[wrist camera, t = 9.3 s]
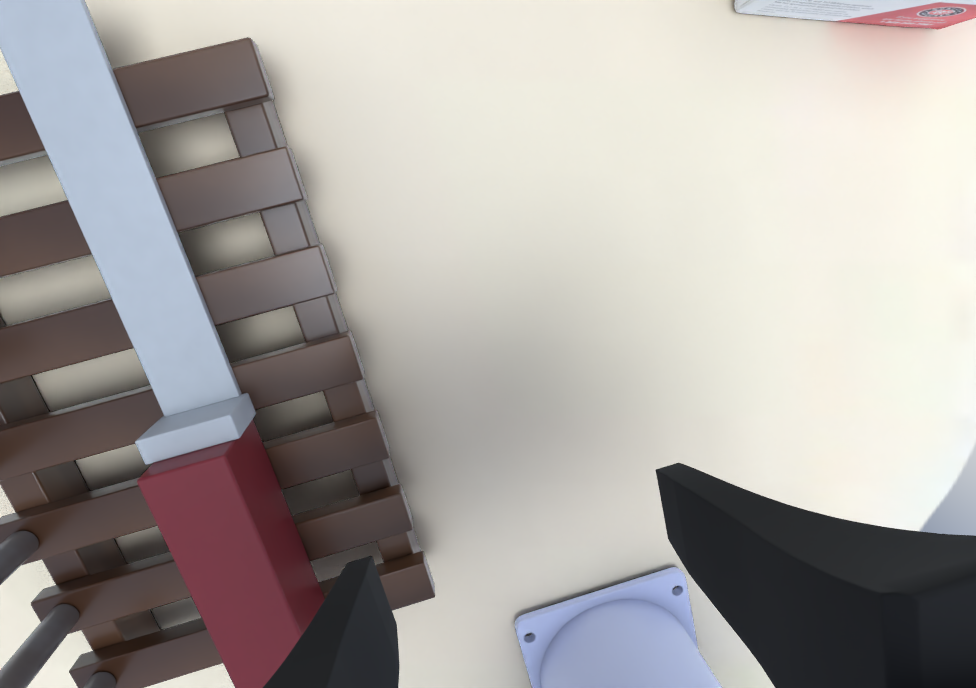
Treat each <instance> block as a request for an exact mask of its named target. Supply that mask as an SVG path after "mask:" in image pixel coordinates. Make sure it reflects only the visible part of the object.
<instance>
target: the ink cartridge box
mask: <svg viewBox="0 0 976 688" xmlns="http://www.w3.org/2000/svg"><path fill="white" fill-rule="evenodd" d="M734 7H735V11H736V12H739V13H745V14H757V15H768V16H779V17H791V18H802V19H813V20H826V21H840V22H851V23H865V24H877V25H887V26H900V27H918V28H932V29H942V28H945V27H948V26H951V25H954V24H957V23H960V22H963V21H967V20H970V19H973V18H976V0H735V4H734Z"/></svg>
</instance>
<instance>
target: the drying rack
mask: <svg viewBox="0 0 976 688" xmlns="http://www.w3.org/2000/svg"><path fill="white" fill-rule="evenodd" d="M112 70H113V72H114V75H115V77H116V80H117V82H118V85H119V87H120V90H121V92H122V95H123V98H124V100H125V103H126V105H127V108H128V110H129V113H130V115H131V118H132V120H133V123H134V125H135V128H136V130H137V133H140V132H144V131H148V130H153V129H157V128H161V127H165V126H169V125H173V124H177V123H182V122H186V121H190V120H194V119H198V118H202V117H206V116H210V115H215V114H219V113H223V112H224V114H225V117H226V119H227V122H228V125H229V128H230V131H231V134H232V136H233V139H234V142H235V145H236V148H237V150H238V153H239V156H240V158H236V159H232V160H227V161H223V162H219V163H215V164H211V165H207V166H203V167H199V168H195V169H191V170H187V171H183V172H179V173H175V174H171V175H167V176H163V177H159V178H156V180H157V183H158V185H159V188H160V190H161V193H162V195H163V198H164V200H165V203H166V205H167V208H168V210H169V213H170V215H171V218H172V220H173V223H174V225H175V228H176V230H177V233H179V232H183V231H187V230H191V229H195V228H199V227H203V226H207V225H211V224H215V223H219V222H222V221H226V220H230V219H234V218H238V217H242V216H246V215H250V214H254V213H258V212H259V213H260V215H261V218H262V221H263V224H264V227H265V229H266V232H267V235H268V238H269V241H270V244H271V246H272V249H273V252H274V255H275V256H271V257H267V258H263V259H259V260H256V261H252V262H248V263H244V264H240V265H236V266H233V267H229V268H225V269H221V270H217V271H213V272H210V273H206V274H202V275H198V276H195V278H196V280H197V283H198V285H199V288H200V290H201V293H202V295H203V298H204V300H205V303H206V305H207V308H208V310H209V313H210V315H211V318H212V320H213V323H214V325H215V326H217V325H221V324H225V323H228V322H232V321H236V320H240V319H243V318H247V317H251V316H254V315H258V314H262V313H266V312H269V311H273V310H277V309H281V308H284V307H288V306H293V308H294V311H295V314H296V317H297V320H298V322H299V325H300V328H301V331H302V334H303V337H304V339H305V343H302V344H298V345H294V346H291V347H287V348H284V349H280V350H276V351H273V352H269V353H265V354H262V355H258V356H254V357H251V358H247V359H243V360H240V361H236V362H232V363H230V365H231V368H232V370H233V373H234V375H235V378H236V380H237V383H238V385H239V388H240V390H241V394H244V393H248V394H249V397H250V399H251V402H252V404H253V407H254V409H255V410H257V409H260V408H264V407H267V406H271V405H274V404H278V403H282V402H285V401H289V400H292V399H296V398H299V397H303V396H306V395H310V394H314V393H317V392H321V391H323V393H324V396H325V399H326V401H327V404H328V407H329V410H330V413H331V416H332V418H333V421H334V422H332V423H329V424H325V425H322V426H318V427H315V428H311V429H308V430H304V431H301V432H297V433H294V434H290V435H287V436H283V437H280V438H276V439H273V440H269V441H266V442H262V443H263V445H264V448H265V450H266V453H267V455H268V458H269V460H270V463H271V465H272V468H273V471H274V473H275V476H276V478H277V481H278V483H279V486H280V488H281V489H285V488H288V487H292V486H295V485H299V484H302V483H306V482H309V481H312V480H316V479H319V478H323V477H326V476H330V475H333V474H336V473H340V472H343V471H347V470H350V469H351V472H352V475H353V478H354V480H355V483H356V486H357V489H358V492H359V494H360V496H357V497H353V498H350V499H346V500H343V501H340V502H336V503H333V504H330V505H326V506H323V507H319V508H316V509H313V510H309V511H306V512H302V513H299V514H296V515H292V518H293V521H294V523H295V526H296V528H297V531H298V533H299V536H300V538H301V541H302V543H303V546H304V548H305V551H306V553H307V556H308V558H309V561H312V560H315V559H318V558H322V557H325V556H328V555H332V554H335V553H338V552H342V551H345V550H348V549H352V548H355V547H358V546H362V545H365V544H368V543H372V542H375V541H376V542H377V545H378V548H379V551H380V554H381V557H382V559H383V562H384V563H380V564H377V565H375V566H376V569H377V571H378V574H379V577H380V580H381V582H382V585H383V588H384V591H385V593H386V596H387V599H388V602H389V605H390V607H391V610H395V609H398V608H402V607H405V606H408V605H411V604H415V603H418V602H421V601H424V600H427V599H431V598H434V597H435V586H434V581H433V578H432V575H431V572H430V569H429V566H428V563H427V560H426V557H425V554H424V551H421V549H420V546H419V543H418V540H417V537H416V534H415V530H414V527H413V518H412V515H411V512H410V508H409V505H408V502H407V499H406V496H405V493H404V490H403V487H402V485H401V484H399V482H398V479H397V476H396V473H395V470H394V467H393V464H392V461H391V458H390V455H389V453H390V447H389V444H388V441H387V438H386V435H385V432H384V429H383V426H382V423H381V420H380V417H379V414H378V411H377V410H375V409H374V406H373V403H372V400H371V397H370V394H369V391H368V388H367V385H366V382H365V379H364V373H365V371H364V368H363V365H362V362H361V359H360V356H359V353H358V350H357V347H356V344H355V341H354V338H353V335H352V332H351V331H349V330H348V327H347V324H346V321H345V318H344V315H343V312H342V309H341V306H340V303H339V300H338V297H337V294H336V291H337V286H336V283H335V280H334V277H333V274H332V271H331V268H330V264H329V261H328V258H327V255H326V252H325V249H324V246H323V244H321V243H320V242H319V239H318V236H317V233H316V230H315V227H314V224H313V221H312V218H311V215H310V212H309V209H308V206H307V203H306V200H307V195H306V192H305V189H304V185H303V182H302V179H301V176H300V173H299V170H298V167H297V164H296V161H295V158H294V155H293V152H292V150H291V148H288V145H287V142H286V139H285V136H284V133H283V130H282V127H281V124H280V121H279V118H278V115H277V112H276V109H275V106H274V103H273V100H274V94H273V91H272V88H271V85H270V82H269V79H268V76H267V73H266V70H265V67H264V64H263V61H262V58H261V55H260V52H259V49H258V46H257V44H256V43H255V42H254V41H253V40H252V39H251V38H248V37H247V38H243V39H239V40H235V41H230V42H226V43H222V44H217V45H213V46H209V47H205V48H200V49H196V50H192V51H188V52H183V53H179V54H175V55H170V56H166V57H162V58H158V59H153V60H149V61H145V62H140V63H136V64H132V65H128V66H123V67H119V68H115V69H112ZM45 155H48V154H47V152H46V150H45V147H44V145H43V143H42V141H41V139H40V136H39V134H38V132H37V130H36V127H35V125H34V123H33V121H32V118H31V116H30V114H29V112H28V109H27V107H26V105H25V103H24V101H23V98H22V96H21V94H20V92H19V91H16V92H12V93H8V94H3V95H0V166H4V165H8V164H12V163H16V162H20V161H25V160H29V159H33V158H37V157H41V156H45ZM90 255H92V253H91V250H90V248H89V246H88V244H87V241H86V239H85V237H84V235H83V233H82V230H81V228H80V226H79V224H78V221H77V219H76V217H75V215H74V212H73V210H72V208H71V206H70V203H69V201H68V200H66V201H62V202H58V203H54V204H50V205H46V206H42V207H38V208H34V209H30V210H26V211H22V212H18V213H14V214H10V215H6V216H2V217H0V278H3V277H7V276H11V275H15V274H19V273H23V272H27V271H31V270H35V269H39V268H43V267H46V266H50V265H54V264H58V263H62V262H66V261H70V260H74V259H78V258H82V257H86V256H90ZM132 348H134V347H133V344H132V342H131V340H130V338H129V335H128V333H127V331H126V329H125V327H124V324H123V322H122V320H121V318H120V315H119V313H118V311H117V309H116V306H115V304H114V302H113V300H112V298H110V299H106V300H103V301H99V302H95V303H91V304H87V305H83V306H80V307H76V308H72V309H68V310H64V311H61V312H57V313H53V314H49V315H45V316H41V317H38V318H34V319H30V320H26V321H22V322H19V323H15V324H11V325H7V326H5V324H4V322H3V320H2V318H1V316H0V485H1V487H2V489H3V490H4V492H5V494H6V496H7V498H8V499H9V501H10V503H11V505H12V507H13V508H14V510H15V512H16V513H13V514H9V515H6V516H2V517H1V518H0V585H1V584H2V583H3V582H4V581H5V580H6V579H7V578H8V577H9V576H10V575H11V574H12V573H13V572H14V571H15V570H17V569H18V568H19V567H20V566H21V565H24V564H27V563H31V562H34V561H38V560H41V559H42V560H43V562H44V564H45V566H46V567H47V569H48V571H49V573H50V575H51V576H52V578H53V580H54V582H55V584H56V585H55V586H51V587H48V588H45V589H43V590H42V591H41V592H40V593H39V594H38V595H37V596H36V598H35V599H34V600H33V601H32V602H31V606H32V608H33V609H34V611H35V613H36V614H37V616H38V618H39V620H40V621H41V623H40V624H39V625H38V627H37V628H36V629H35V630H34V631H33V632H32V634H31V635H30V636H29V637H28V638H27V639H26V641H25V642H24V643H23V644H22V645H21V646H20V648H19V649H18V650H17V651H16V652H15V653H14V655H13V656H12V657H11V658H10V659H9V661H8V662H7V663H6V664H5V665H4V666H3V668H2V669H1V670H0V688H27V686H28V685H29V684H30V682H31V681H32V680H33V678H34V677H35V676H36V675H37V673H38V672H39V671H40V669H41V668H42V667H43V666H44V664H45V663H46V662H47V660H48V659H49V658H50V656H51V655H52V654H53V653H54V651H55V650H56V649H57V647H58V646H59V645H60V643H61V642H62V641H63V640H64V638H65V637H66V636H67V634H69V633H73V632H76V631H79V630H82V632H83V634H84V636H85V637H86V639H87V641H88V643H89V645H90V646H91V648H92V650H93V651H91V652H88V653H85V654H82V655H80V656H79V658H78V659H77V661H76V662H75V664H74V665H73V666H72V668H71V669H70V671H69V673H70V674H71V676H72V678H73V680H74V681H75V683H76V685H77V686H78V688H144V687H147V686H151V685H154V684H157V683H160V682H163V681H167V680H170V679H173V678H176V677H180V676H183V675H186V674H189V673H192V672H196V671H199V670H202V669H205V668H208V667H212V666H215V665H218V664H221V663H223V661H222V659H221V657H220V655H219V653H218V651H217V649H216V647H215V644H214V642H213V640H212V638H211V636H210V634H209V632H208V630H207V628H206V626H205V624H204V622H203V619H202V618H200V619H196V620H193V621H190V622H186V623H183V624H180V625H177V626H173V627H170V628H167V629H163V630H160V629H159V627H158V625H157V623H156V621H155V619H154V617H153V615H152V613H151V611H150V609H152V608H156V607H159V606H162V605H166V604H169V603H172V602H176V601H179V600H182V599H186V598H189V597H192V596H191V594H190V592H189V590H188V588H187V586H186V584H185V582H184V580H183V578H182V576H181V574H180V571H179V569H178V567H177V565H176V563H175V561H174V559H173V557H172V555H171V553H170V552H167V553H163V554H160V555H157V556H153V557H150V558H146V559H143V560H140V561H136V562H133V563H129V564H126V562H125V560H124V558H123V556H122V554H121V552H120V550H119V548H118V546H117V544H116V542H115V540H114V538H117V537H120V536H124V535H127V534H130V533H134V532H137V531H141V530H144V529H148V528H151V527H154V526H157V523H156V521H155V519H154V517H153V515H152V513H151V511H150V509H149V507H148V505H147V503H146V501H145V498H144V496H143V494H142V492H141V490H140V488H139V486H138V484H137V480H138V478H136V479H132V480H129V481H125V482H122V483H118V484H115V485H111V486H107V487H104V488H100V489H97V490H93V491H89V489H88V487H87V485H86V483H85V481H84V479H83V477H82V475H81V473H80V471H79V470H78V468H77V466H76V464H75V462H74V461H75V460H78V459H82V458H85V457H89V456H92V455H96V454H100V453H103V452H107V451H110V450H114V449H117V448H121V447H125V446H128V445H132V444H135V441H136V440H137V439H138V438H139V437H140V436H142V435H143V434H144V433H145V432H146V431H147V430H148V429H149V428H150V427H151V426H153V425H154V424H155V423H156V422H157V421H158V420H159V419H160V418H161V417H163V416H164V414H163V412H162V409H161V407H160V405H159V403H158V400H157V398H156V396H155V394H154V391H153V389H152V387H151V385H148V386H145V387H141V388H137V389H134V390H130V391H126V392H123V393H119V394H115V395H112V396H108V397H104V398H101V399H97V400H93V401H90V402H86V403H82V404H79V405H75V406H72V407H68V408H64V409H61V410H57V411H53V412H50V413H49V411H48V409H47V407H46V405H45V403H44V401H43V399H42V397H41V395H40V393H39V391H38V389H37V387H36V385H35V383H34V381H33V379H32V377H31V375H35V374H38V373H42V372H46V371H50V370H53V369H57V368H61V367H65V366H68V365H72V364H76V363H79V362H83V361H87V360H91V359H94V358H98V357H102V356H105V355H109V354H113V353H117V352H120V351H124V350H128V349H132ZM338 577H339V576H338ZM338 577H334V578H331V579H328V580H324V581H321V582H318V583H319V586H320V588H321V591H322V593H323V596H324V598H325V599H326V597H327V595H328V594H329V592H330V590H331V589H332V587H333V585H334V584H335V582H336V580H337V579H338Z"/></svg>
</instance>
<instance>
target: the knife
mask: <svg viewBox="0 0 976 688" xmlns="http://www.w3.org/2000/svg"><path fill="white" fill-rule="evenodd" d="M0 49H1V51H2V54H3V56H4V58H5V60H6V62H7V65H8V67H9V69H10V71H11V74H12V76H13V78H14V80H15V83H16V85H17V87H18V89H19V92H20V94H21V96H22V98H23V101H24V103H25V105H26V107H27V109H28V112H29V114H30V116H31V118H32V121H33V123H34V125H35V127H36V130H37V132H38V134H39V136H40V139H41V141H42V143H43V145H44V147H45V150H46V152H47V154H48V156H49V159H50V161H51V163H52V165H53V168H54V170H55V172H56V174H57V177H58V179H59V181H60V183H61V186H62V188H63V190H64V192H65V194H66V197H67V199H68V201H69V203H70V206H71V208H72V210H73V212H74V215H75V217H76V219H77V221H78V224H79V226H80V228H81V230H82V233H83V235H84V237H85V239H86V241H87V244H88V246H89V248H90V250H91V253H92V255H93V257H94V259H95V262H96V264H97V266H98V268H99V271H100V273H101V275H102V277H103V280H104V282H105V284H106V286H107V288H108V291H109V293H110V295H111V297H112V300H113V302H114V304H115V306H116V309H117V311H118V313H119V315H120V318H121V320H122V322H123V324H124V327H125V329H126V331H127V333H128V335H129V338H130V340H131V342H132V344H133V347H134V349H135V351H136V353H137V356H138V358H139V360H140V362H141V365H142V367H143V369H144V371H145V374H146V376H147V378H148V380H149V382H150V385H151V387H152V389H153V391H154V394H155V396H156V398H157V400H158V403H159V405H160V407H161V409H162V412H163V414H164V416H163V417H161V418H160V419H159V420H158V421H157V422H156V423H155V424H154V425H153V426H151V427H150V428H149V429H148V430H147V431H146V432H145V433H144V434H143V435H142V436H140V437H139V438H138V439H137V440H136V441H135V444H136V446H137V448H138V450H139V452H140V454H141V456H142V459H143V461H144V463H145V464H146V465H147V464H151V463H153V464H152V465H151V466H150V467H149V468H148V469H147V470H146V471H145V472H144V473H143V474H142V475H141V476H140V477H139V478H138V480H137V484H138V486H139V488H140V490H141V492H142V494H143V496H144V498H145V501H146V503H147V505H148V507H149V509H150V511H151V513H152V515H153V517H154V519H155V521H156V523H157V526H158V528H159V530H160V532H161V534H162V536H163V538H164V540H165V542H166V544H167V546H168V549H169V551H170V553H171V555H172V557H173V559H174V561H175V563H176V565H177V567H178V569H179V571H180V574H181V576H182V578H183V580H184V582H185V584H186V586H187V588H188V590H189V592H190V594H191V596H192V599H193V601H194V603H195V605H196V607H197V609H198V611H199V613H200V615H201V617H202V619H203V622H204V624H205V626H206V628H207V630H208V632H209V634H210V636H211V638H212V640H213V642H214V644H215V647H216V649H217V651H218V653H219V655H220V657H221V659H222V661H223V663H224V665H225V667H226V669H227V672H228V674H229V676H230V678H231V680H232V682H233V684H234V686H235V688H263V687H264V686H265V684H266V683H267V682H268V681H269V680H270V678H271V677H272V676H273V675H274V673H275V672H276V671H277V669H278V668H279V667H280V666H281V664H282V663H283V662H284V660H285V659H286V657H287V656H288V655H289V653H290V652H291V650H292V649H293V647H294V646H295V645H296V643H297V642H298V640H299V639H300V637H301V636H302V635H303V633H304V632H305V630H306V629H307V627H308V626H309V624H310V623H311V621H312V619H313V618H314V616H315V615H316V613H317V612H318V610H319V608H320V607H321V605H322V604H323V602H324V600H325V598H324V596H323V593H322V591H321V588H320V586H319V583H318V581H317V578H316V576H315V573H314V571H313V568H312V566H311V563H310V561H309V558H308V556H307V553H306V551H305V548H304V546H303V543H302V541H301V538H300V536H299V533H298V531H297V528H296V526H295V523H294V521H293V518H292V516H291V513H290V511H289V508H288V506H287V503H286V501H285V498H284V496H283V493H282V491H281V488H280V486H279V483H278V481H277V478H276V476H275V473H274V471H273V468H272V465H271V463H270V460H269V458H268V455H267V453H266V450H265V448H264V445H263V443H262V440H261V438H260V435H259V433H258V430H257V428H256V425H255V423H254V420H253V418H254V416H255V415H256V412H255V409H254V407H253V404H252V402H251V399H250V397H249V394H248V393H244V394H241V390H240V388H239V385H238V383H237V380H236V378H235V375H234V373H233V370H232V368H231V365H230V363H229V360H228V358H227V355H226V353H225V350H224V348H223V345H222V343H221V340H220V338H219V335H218V333H217V330H216V328H215V325H214V323H213V320H212V318H211V315H210V313H209V310H208V308H207V305H206V303H205V300H204V298H203V295H202V293H201V290H200V288H199V285H198V283H197V280H196V278H195V275H194V273H193V270H192V268H191V265H190V263H189V260H188V258H187V255H186V253H185V250H184V248H183V245H182V243H181V240H180V238H179V235H178V233H177V230H176V228H175V225H174V223H173V220H172V218H171V215H170V213H169V210H168V208H167V205H166V203H165V200H164V198H163V195H162V193H161V190H160V188H159V185H158V183H157V180H156V178H155V175H154V173H153V170H152V168H151V165H150V163H149V160H148V158H147V155H146V153H145V150H144V148H143V145H142V143H141V140H140V138H139V135H138V133H137V130H136V128H135V125H134V123H133V120H132V118H131V115H130V113H129V110H128V108H127V105H126V103H125V100H124V98H123V95H122V92H121V90H120V87H119V85H118V82H117V80H116V77H115V75H114V72H113V70H112V67H111V65H110V62H109V60H108V57H107V55H106V52H105V50H104V47H103V45H102V42H101V40H100V37H99V35H98V32H97V30H96V27H95V25H94V22H93V20H92V17H91V15H90V12H89V10H88V7H87V5H86V2H85V0H0Z"/></svg>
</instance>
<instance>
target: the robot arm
mask: <svg viewBox="0 0 976 688" xmlns="http://www.w3.org/2000/svg"><path fill="white" fill-rule="evenodd" d="M656 474H657V479H658V485H659V490H660V496H661V501H662V507H663V512H664V518H665V523H666V529H667V534H668V539H669V541H670V543H671V544H672V546H673V548H674V550H675V551H676V553H677V555H678V556H679V558H680V560H681V561H682V563H683V564H684V566H685V568H686V569H687V571H688V573H689V574H690V575H691V577H692V578H693V579H694V581H695V582H696V583H697V584H698V586H699V587H700V588H701V589H702V591H703V592H704V593H705V595H706V596H707V597H708V598H709V600H710V601H711V602H712V603H713V605H714V606H715V607H716V608H717V610H718V611H719V612H720V613H721V615H722V616H723V617H724V618H725V620H726V621H727V622H728V623H729V625H730V626H731V627H732V628H733V630H734V631H735V632H736V633H737V635H738V636H739V637H740V638H741V640H742V641H743V642H744V643H745V645H746V646H747V647H748V648H749V650H750V651H751V653H752V654H753V655H754V657H755V658H756V659H757V661H758V662H759V663H760V665H761V666H762V668H763V669H764V671H765V672H766V674H767V675H768V677H769V678H770V680H771V682H772V683H773V685H774V686H775V688H976V536H969V535H967V536H966V535H948V534H937V533H928V532H918V531H909V530H901V529H894V528H887V527H881V526H875V525H870V524H864V523H859V522H853V521H848V520H844V519H839V518H835V517H831V516H827V515H823V514H819V513H815V512H811V511H807V510H804V509H800V508H797V507H794V506H790V505H787V504H784V503H781V502H778V501H775V500H772V499H769V498H766V497H764V496H761V495H758V494H755V493H753V492H750V491H748V490H745V489H742V488H740V487H737V486H735V485H732V484H730V483H727V482H725V481H723V480H720V479H718V478H715V477H713V476H711V475H708V474H706V473H704V472H701V471H699V470H697V469H694V468H692V467H689V466H687V465H684V464H681V463H676V464H673V465H670V466H666V467H663V468H660V469H657V470H656ZM675 586H678V587H677V588H676V589H674V590H672V589H673V588H674V587H675ZM515 629H516V633H517V637H518V640H519V643H520V647H521V650H522V654H523V657H524V661H525V664H526V668H527V671H528V675H529V678H530V682H531V685H532V688H722V686H721V685H720V683H719V682H718V680H717V679H716V677H715V675H714V674H713V672H712V671H711V669H710V668H709V666H708V665H707V663H706V661H705V660H704V658H703V657H702V655H701V654H700V652H699V651H698V645H697V639H696V634H695V628H694V622H693V617H692V611H691V605H690V600H689V594H688V588H687V583H686V577H685V575H684V573H683V572H682V571H681V570H680V569H679V568H676V567H672V568H668V569H665V570H662V571H659V572H655V573H652V574H649V575H646V576H643V577H640V578H636V579H633V580H630V581H627V582H624V583H621V584H617V585H614V586H611V587H608V588H605V589H602V590H598V591H595V592H592V593H589V594H586V595H583V596H580V597H576V598H573V599H570V600H567V601H564V602H561V603H557V604H554V605H551V606H548V607H545V608H542V609H538V610H535V611H532V612H529V613H526V614H523V615H521V616H519V617H518V618H517V619H516V621H515ZM528 633H532V635H530V636H525V635H526V634H528ZM398 682H399V652H398V637H397V624H396V621H395V618H394V616H393V613H392V610H391V607H390V605H389V602H388V599H387V596H386V593H385V591H384V588H383V585H382V582H381V580H380V577H379V574H378V571H377V569H376V566H375V563H374V560H373V557H372V556H369V557H366V558H363V559H359V560H356V561H353V562H350V563H347V564H346V566H345V567H344V569H343V570H342V572H341V574H340V575H339V577H338V579H337V580H336V582H335V584H334V585H333V587H332V589H331V590H330V592H329V594H328V595H327V597H326V599H325V600H324V602H323V604H322V605H321V607H320V608H319V610H318V612H317V613H316V615H315V616H314V618H313V619H312V621H311V623H310V624H309V626H308V627H307V629H306V630H305V632H304V633H303V635H302V636H301V637H300V639H299V640H298V642H297V643H296V645H295V646H294V647H293V649H292V650H291V652H290V653H289V655H288V656H287V657H286V659H285V660H284V662H283V663H282V664H281V666H280V667H279V668H278V669H277V671H276V672H275V673H274V675H273V676H272V677H271V678H270V680H269V681H268V682H267V683H266V684H265V686H264V687H263V688H398Z"/></svg>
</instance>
